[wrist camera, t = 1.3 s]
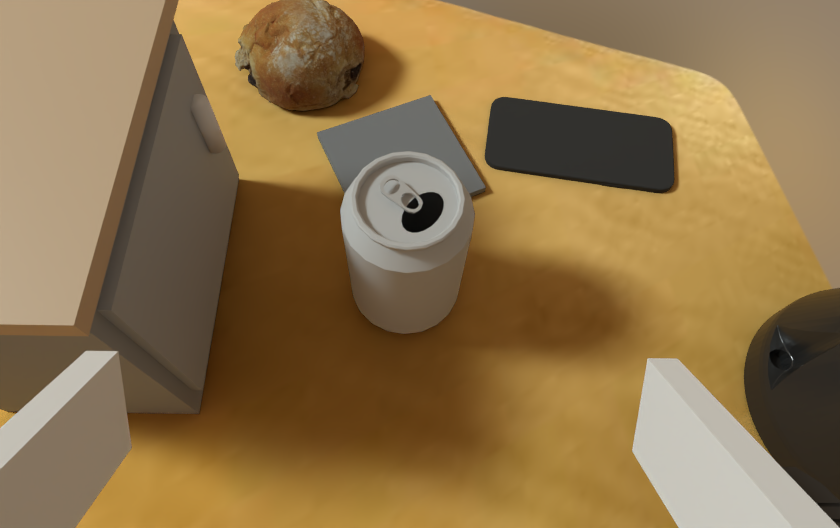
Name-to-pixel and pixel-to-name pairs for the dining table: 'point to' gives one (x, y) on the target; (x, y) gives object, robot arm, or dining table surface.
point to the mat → (397, 142)
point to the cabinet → (108, 200)
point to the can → (406, 240)
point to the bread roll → (302, 54)
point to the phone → (580, 144)
